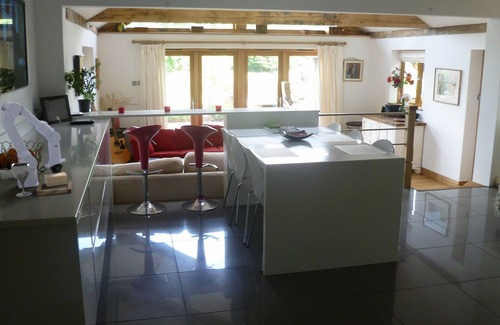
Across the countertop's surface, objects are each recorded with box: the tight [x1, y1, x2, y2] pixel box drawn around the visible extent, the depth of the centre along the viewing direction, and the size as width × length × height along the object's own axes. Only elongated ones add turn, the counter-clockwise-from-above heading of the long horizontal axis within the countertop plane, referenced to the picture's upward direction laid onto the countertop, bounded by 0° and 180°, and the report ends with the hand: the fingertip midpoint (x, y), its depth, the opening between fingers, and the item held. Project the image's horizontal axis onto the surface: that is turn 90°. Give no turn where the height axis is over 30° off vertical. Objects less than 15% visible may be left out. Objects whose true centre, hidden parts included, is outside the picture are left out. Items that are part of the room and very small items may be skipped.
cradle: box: [35, 180, 73, 196], centre depth 246 cm, size 16×14×2 cm
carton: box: [44, 171, 69, 188], centre depth 257 cm, size 10×7×5 cm
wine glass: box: [10, 162, 33, 198], centre depth 238 cm, size 8×8×15 cm
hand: (57, 177), depth 264 cm, fingers closed
